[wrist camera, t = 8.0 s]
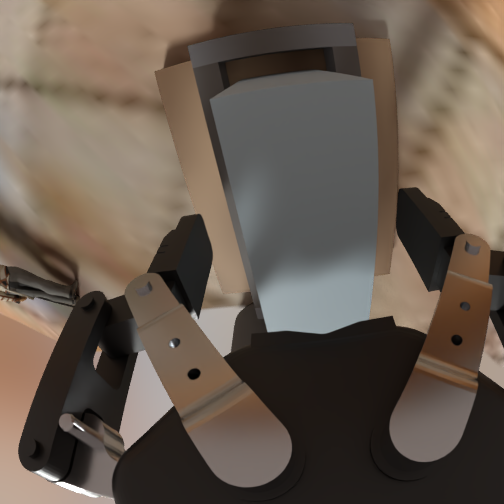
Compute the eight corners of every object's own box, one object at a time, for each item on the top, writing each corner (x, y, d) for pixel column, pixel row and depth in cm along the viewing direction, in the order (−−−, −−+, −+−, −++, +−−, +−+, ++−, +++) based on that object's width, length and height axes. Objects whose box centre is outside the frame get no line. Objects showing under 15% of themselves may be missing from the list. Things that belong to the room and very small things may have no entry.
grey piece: (379, 31, 10) (405, 26, 8) (383, 267, 19) (397, 300, 16) (160, 62, 12) (134, 63, 9) (226, 287, 21) (221, 322, 18)
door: (313, 69, 11) (372, 79, 5) (332, 263, 17) (357, 381, 11) (242, 79, 12) (209, 100, 5) (279, 269, 18) (282, 390, 11)
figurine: (87, 246, 24) (-36, 223, 18) (79, 244, 20) (-55, 219, 14) (79, 310, 23) (-42, 282, 17) (72, 319, 20) (-61, 285, 14)
